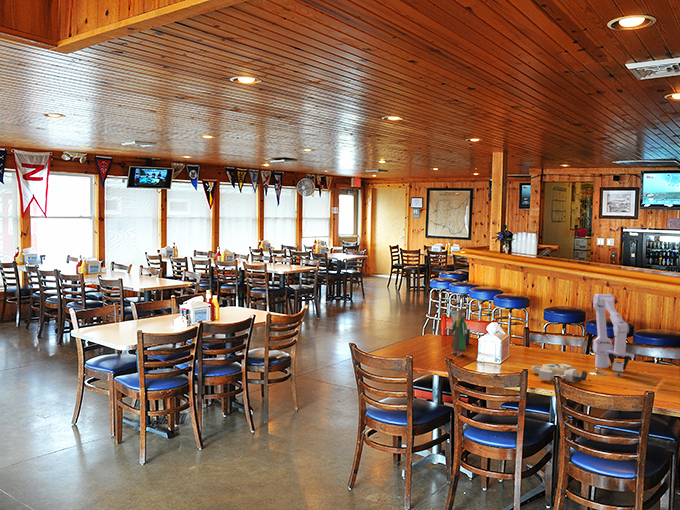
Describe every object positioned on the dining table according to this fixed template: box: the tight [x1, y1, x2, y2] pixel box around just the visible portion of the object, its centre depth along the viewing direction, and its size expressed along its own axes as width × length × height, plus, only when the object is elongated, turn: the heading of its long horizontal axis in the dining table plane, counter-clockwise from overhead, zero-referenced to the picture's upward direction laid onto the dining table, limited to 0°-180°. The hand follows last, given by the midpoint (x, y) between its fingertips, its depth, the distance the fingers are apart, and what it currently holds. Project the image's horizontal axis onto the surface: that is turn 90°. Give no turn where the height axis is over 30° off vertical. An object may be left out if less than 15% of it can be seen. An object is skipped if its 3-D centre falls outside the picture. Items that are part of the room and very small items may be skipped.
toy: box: [531, 363, 588, 383], centre depth 321 cm, size 25×8×30 cm
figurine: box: [449, 307, 468, 357], centre depth 370 cm, size 16×7×30 cm, turn 27°
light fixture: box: [449, 310, 471, 345], centre depth 399 cm, size 11×17×24 cm, turn 152°
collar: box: [611, 360, 625, 372], centre depth 325 cm, size 5×5×4 cm
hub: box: [588, 367, 607, 377], centre depth 328 cm, size 9×9×4 cm
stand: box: [613, 371, 624, 378], centre depth 326 cm, size 4×4×4 cm
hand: (618, 368), depth 325 cm, fingers closed on collar, 5 cm apart
